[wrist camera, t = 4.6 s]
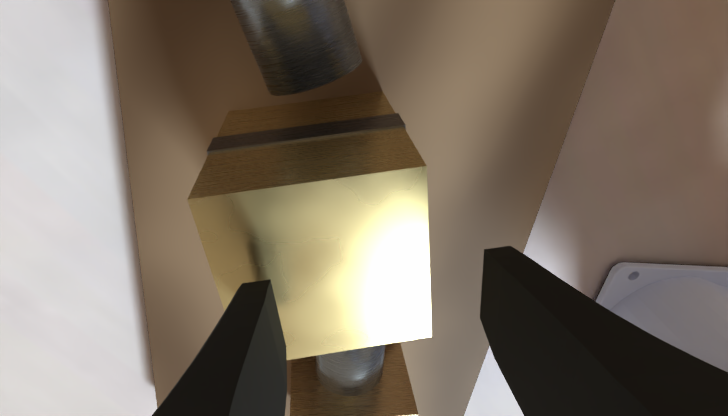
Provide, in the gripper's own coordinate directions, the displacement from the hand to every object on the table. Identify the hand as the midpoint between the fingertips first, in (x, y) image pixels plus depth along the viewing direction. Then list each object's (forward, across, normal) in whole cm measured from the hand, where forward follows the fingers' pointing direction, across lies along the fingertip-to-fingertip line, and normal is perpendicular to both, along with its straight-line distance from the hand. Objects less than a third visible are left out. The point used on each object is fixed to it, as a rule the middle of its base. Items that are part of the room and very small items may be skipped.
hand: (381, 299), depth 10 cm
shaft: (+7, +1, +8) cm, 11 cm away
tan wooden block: (+7, +1, 0) cm, 7 cm away
